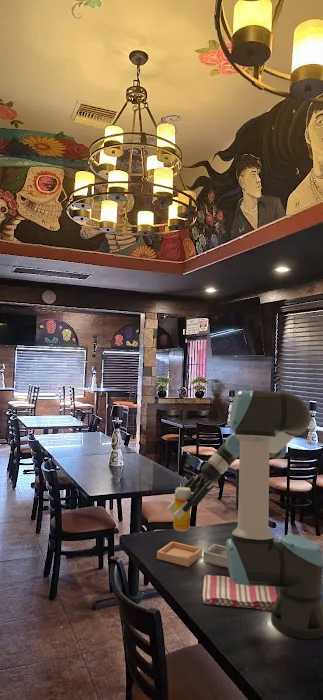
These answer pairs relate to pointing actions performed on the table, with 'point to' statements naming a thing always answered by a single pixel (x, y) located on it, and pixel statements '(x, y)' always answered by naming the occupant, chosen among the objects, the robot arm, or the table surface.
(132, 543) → the table surface
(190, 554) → the serving tray
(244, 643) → the table surface
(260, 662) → the table surface
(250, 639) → the table surface
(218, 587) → the dish towel
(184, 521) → the beer can
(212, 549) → the frame
